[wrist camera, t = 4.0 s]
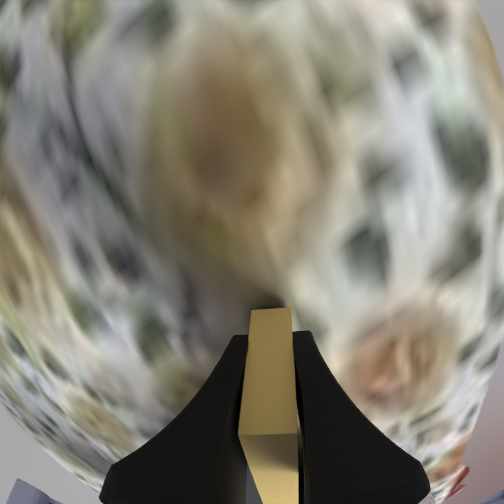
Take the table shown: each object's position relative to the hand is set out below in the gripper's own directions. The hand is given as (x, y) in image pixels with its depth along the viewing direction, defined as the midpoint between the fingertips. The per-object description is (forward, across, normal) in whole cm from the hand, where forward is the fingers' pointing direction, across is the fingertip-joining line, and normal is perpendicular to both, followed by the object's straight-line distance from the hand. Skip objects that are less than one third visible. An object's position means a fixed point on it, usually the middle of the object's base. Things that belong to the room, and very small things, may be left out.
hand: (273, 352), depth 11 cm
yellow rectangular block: (+1, 0, +4) cm, 4 cm away
